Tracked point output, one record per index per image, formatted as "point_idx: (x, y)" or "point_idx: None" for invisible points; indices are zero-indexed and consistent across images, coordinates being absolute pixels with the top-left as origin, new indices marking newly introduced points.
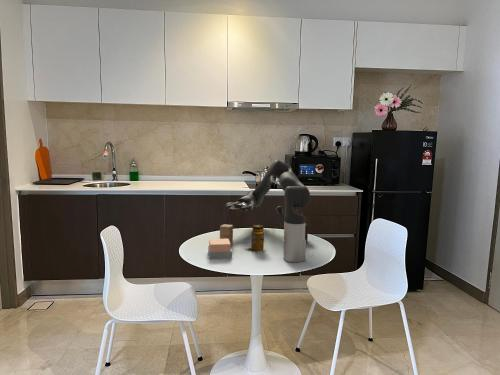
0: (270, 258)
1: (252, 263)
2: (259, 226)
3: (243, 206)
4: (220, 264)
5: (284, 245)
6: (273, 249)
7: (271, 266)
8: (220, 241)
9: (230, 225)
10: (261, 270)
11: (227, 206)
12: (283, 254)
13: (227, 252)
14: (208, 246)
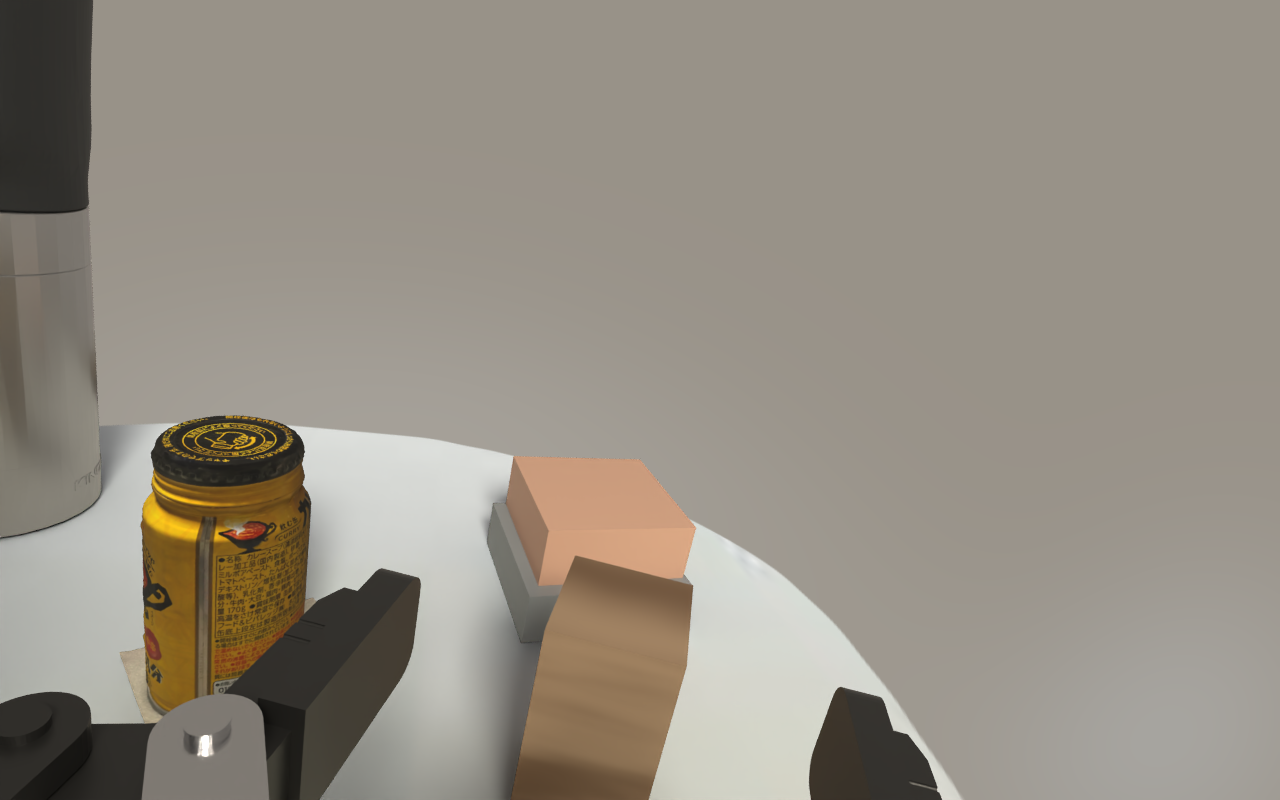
0: None
1: (361, 481)
2: (216, 434)
3: (347, 653)
4: None
5: (96, 391)
6: (4, 689)
7: None
8: (594, 490)
9: (577, 616)
10: (332, 430)
11: (847, 689)
12: (92, 472)
13: None
14: (685, 576)
